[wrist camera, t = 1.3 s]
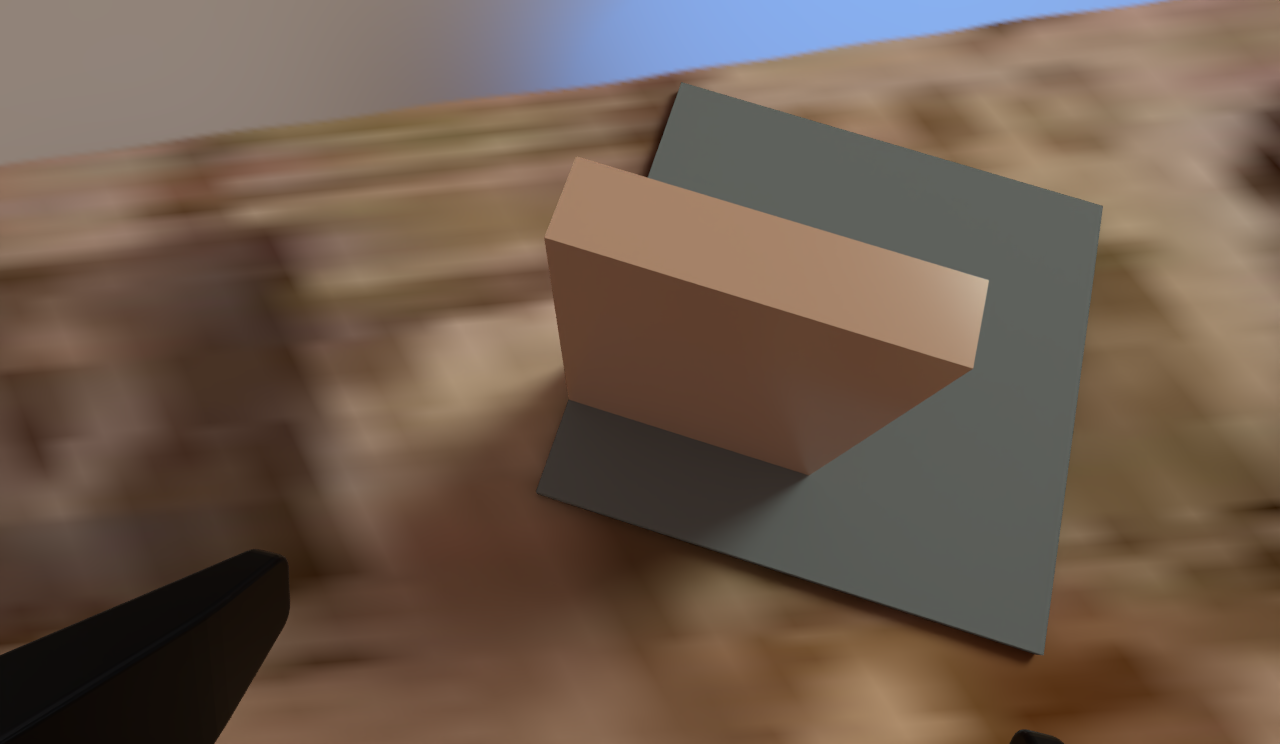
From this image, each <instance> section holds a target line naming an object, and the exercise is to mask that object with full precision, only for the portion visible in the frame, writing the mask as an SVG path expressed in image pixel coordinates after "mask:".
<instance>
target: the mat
mask: <svg viewBox="0 0 1280 744" xmlns="http://www.w3.org/2000/svg"><path fill="white" fill-rule="evenodd" d="M648 178H650V179H653V180H657V181H660V182H663V183H667V184H670V185H673V186H677V187H680V188H683V189H687V190H690V191H693V192H697V193H700V194H703V195H707V196H710V197H713V198H717V199H720V200H723V201H727V202H730V203H733V204H737V205H740V206H743V207H747V208H750V209H753V210H757V211H760V212H763V213H767V214H770V215H773V216H777V217H780V218H783V219H787V220H790V221H793V222H797V223H800V224H803V225H807V226H810V227H813V228H817V229H820V230H823V231H827V232H830V233H833V234H837V235H840V236H843V237H847V238H850V239H853V240H857V241H860V242H863V243H867V244H870V245H873V246H877V247H880V248H883V249H887V250H890V251H893V252H897V253H900V254H903V255H907V256H910V257H913V258H917V259H920V260H923V261H927V262H930V263H933V264H937V265H940V266H943V267H947V268H950V269H953V270H957V271H960V272H963V273H967V274H970V275H973V276H977V277H980V278H983V279H987V280H989V283H988V289H987V295H986V300H985V306H984V311H983V317H982V322H981V328H980V333H979V339H978V344H977V350H976V356H975V361H974V367H973V369H972V370H970V371H969V372H967V373H966V374H964V375H963V376H961V377H960V378H958V379H956V380H955V381H953V382H952V383H950V384H949V385H947V386H946V387H944V388H943V389H941V390H940V391H938V392H937V393H935V394H933V395H932V396H930V397H929V398H927V399H926V400H924V401H923V402H921V403H920V404H918V405H917V406H915V407H914V408H912V409H910V410H909V411H907V412H906V413H904V414H903V415H901V416H900V417H898V418H897V419H895V420H894V421H892V422H890V423H889V424H887V425H886V426H884V427H883V428H881V429H880V430H878V431H877V432H875V433H874V434H872V435H871V436H869V437H867V438H866V439H864V440H863V441H861V442H860V443H858V444H857V445H855V446H854V447H852V448H851V449H849V450H847V451H846V452H844V453H843V454H841V455H840V456H838V457H837V458H835V459H834V460H832V461H831V462H829V463H828V464H826V465H824V466H823V467H821V468H820V469H818V470H817V471H815V472H814V473H812V474H811V475H806V474H803V473H800V472H797V471H793V470H790V469H787V468H784V467H781V466H778V465H774V464H771V463H768V462H765V461H762V460H759V459H755V458H752V457H749V456H746V455H743V454H740V453H736V452H733V451H730V450H727V449H724V448H721V447H717V446H714V445H711V444H708V443H705V442H702V441H698V440H695V439H692V438H689V437H686V436H683V435H679V434H676V433H673V432H670V431H667V430H663V429H660V428H657V427H654V426H651V425H648V424H644V423H641V422H638V421H635V420H632V419H629V418H625V417H622V416H619V415H616V414H613V413H610V412H606V411H603V410H600V409H597V408H594V407H591V406H587V405H584V404H581V403H578V402H575V401H572V400H568V403H567V406H566V409H565V412H564V414H563V417H562V420H561V423H560V426H559V428H558V431H557V434H556V437H555V440H554V442H553V445H552V448H551V451H550V454H549V457H548V459H547V462H546V465H545V468H544V471H543V473H542V476H541V479H540V482H539V485H538V487H537V490H536V493H537V494H539V495H543V496H546V497H549V498H552V499H555V500H558V501H561V502H564V503H567V504H570V505H574V506H577V507H580V508H583V509H586V510H589V511H592V512H595V513H598V514H602V515H605V516H608V517H611V518H614V519H617V520H620V521H623V522H626V523H629V524H633V525H636V526H639V527H642V528H645V529H648V530H651V531H654V532H657V533H660V534H664V535H667V536H670V537H673V538H676V539H679V540H682V541H685V542H688V543H692V544H695V545H698V546H701V547H704V548H707V549H710V550H713V551H716V552H719V553H723V554H726V555H729V556H732V557H735V558H738V559H741V560H744V561H747V562H750V563H754V564H757V565H760V566H763V567H766V568H769V569H772V570H775V571H778V572H782V573H785V574H788V575H791V576H794V577H797V578H800V579H803V580H806V581H809V582H813V583H816V584H819V585H822V586H825V587H828V588H831V589H834V590H837V591H841V592H844V593H847V594H850V595H853V596H856V597H859V598H862V599H865V600H868V601H872V602H875V603H878V604H881V605H884V606H887V607H890V608H893V609H896V610H899V611H903V612H906V613H909V614H912V615H915V616H918V617H921V618H924V619H927V620H931V621H934V622H937V623H940V624H943V625H946V626H949V627H952V628H955V629H958V630H962V631H965V632H968V633H971V634H974V635H977V636H980V637H983V638H986V639H989V640H993V641H996V642H999V643H1002V644H1005V645H1008V646H1011V647H1014V648H1017V649H1021V650H1024V651H1027V652H1030V653H1033V654H1036V655H1044V648H1045V640H1046V633H1047V625H1048V617H1049V610H1050V602H1051V595H1052V587H1053V580H1054V572H1055V564H1056V557H1057V549H1058V542H1059V534H1060V527H1061V519H1062V511H1063V504H1064V496H1065V489H1066V481H1067V474H1068V466H1069V458H1070V451H1071V443H1072V436H1073V428H1074V421H1075V413H1076V405H1077V398H1078V390H1079V383H1080V375H1081V368H1082V360H1083V352H1084V345H1085V337H1086V330H1087V322H1088V315H1089V307H1090V299H1091V292H1092V284H1093V277H1094V269H1095V262H1096V254H1097V247H1098V239H1099V231H1100V224H1101V216H1102V209H1103V206H1101V205H1098V204H1094V203H1091V202H1087V201H1084V200H1081V199H1077V198H1074V197H1070V196H1067V195H1064V194H1060V193H1057V192H1053V191H1050V190H1047V189H1043V188H1040V187H1036V186H1033V185H1030V184H1026V183H1023V182H1019V181H1016V180H1013V179H1009V178H1006V177H1002V176H999V175H996V174H992V173H989V172H985V171H982V170H978V169H975V168H972V167H968V166H965V165H961V164H958V163H955V162H951V161H948V160H944V159H941V158H938V157H934V156H931V155H927V154H924V153H921V152H917V151H914V150H910V149H907V148H904V147H900V146H897V145H893V144H890V143H887V142H883V141H880V140H876V139H873V138H870V137H866V136H863V135H859V134H856V133H853V132H849V131H846V130H842V129H839V128H835V127H832V126H829V125H825V124H822V123H818V122H815V121H812V120H808V119H805V118H801V117H798V116H795V115H791V114H788V113H784V112H781V111H778V110H774V109H771V108H767V107H764V106H761V105H757V104H754V103H750V102H747V101H744V100H740V99H737V98H733V97H730V96H727V95H723V94H720V93H716V92H713V91H709V90H706V89H703V88H699V87H696V86H692V85H689V84H686V83H681V85H680V88H679V91H678V94H677V97H676V99H675V102H674V105H673V108H672V111H671V113H670V116H669V119H668V122H667V125H666V128H665V130H664V133H663V136H662V139H661V142H660V144H659V147H658V150H657V153H656V156H655V158H654V161H653V164H652V167H651V170H650V173H649V175H648Z"/></svg>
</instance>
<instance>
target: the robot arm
mask: <svg viewBox="0 0 1280 744" xmlns="http://www.w3.org/2000/svg"><path fill="white" fill-rule="evenodd" d="M289 610H290V590H289V566H288V561H287V559H286V558H285V557H284V556H282V555H280V554H276V553H272V552H268V551H264V550H259V549H253V550H249V551H246V552H244V553H241V554H239V555H237V556H234V557H232V558H229V559H227V560H225V561H222V562H220V563H218V564H215V565H213V566H211V567H208V568H206V569H203V570H201V571H199V572H196V573H194V574H192V575H189V576H187V577H184V578H182V579H180V580H177V581H175V582H173V583H170V584H168V585H166V586H163V587H161V588H158V589H156V590H154V591H151V592H149V593H147V594H144V595H142V596H139V597H137V598H135V599H132V600H130V601H128V602H125V603H123V604H120V605H118V606H116V607H113V608H111V609H109V610H106V611H104V612H102V613H99V614H97V615H94V616H92V617H90V618H87V619H85V620H83V621H80V622H78V623H75V624H73V625H71V626H68V627H66V628H64V629H61V630H59V631H57V632H54V633H52V634H49V635H47V636H45V637H42V638H40V639H38V640H35V641H33V642H30V643H28V644H26V645H23V646H21V647H19V648H16V649H14V650H12V651H9V652H7V653H4V654H2V655H0V744H214V743H215V742H216V740H217V739H218V737H219V736H220V734H221V732H222V731H223V729H224V728H225V726H226V724H227V723H228V721H229V720H230V718H231V716H232V714H233V713H234V711H235V709H236V708H237V706H238V704H239V702H240V701H241V699H242V697H243V696H244V694H245V692H246V691H247V689H248V687H249V685H250V684H251V682H252V680H253V679H254V677H255V675H256V673H257V672H258V670H259V668H260V667H261V665H262V663H263V661H264V660H265V658H266V656H267V655H268V653H269V651H270V650H271V648H272V646H273V644H274V643H275V641H276V639H277V638H278V636H279V634H280V632H281V631H282V629H283V627H284V625H285V623H286V621H287V618H288V615H289ZM1010 744H1064V743H1063V742H1062V741H1061V740H1059V739H1058V738H1056V737H1054V736H1051V735H1047V734H1043V733H1039V732H1035V731H1030V730H1019V731H1018V732H1017V733H1015V735H1014V736H1013V738H1012V740H1011V742H1010Z"/></svg>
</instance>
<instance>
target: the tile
mask: <svg viewBox="0 0 1280 744" xmlns="http://www.w3.org/2000/svg"><path fill="white" fill-rule="evenodd" d="M544 239H545V245H546V252H547V259H548V265H549V272H550V278H551V285H552V292H553V298H554V305H555V312H556V318H557V325H558V332H559V338H560V345H561V351H562V358H563V365H564V371H565V378H566V385H567V391H568V398H569V400H572V401H575V402H578V403H581V404H584V405H587V406H591V407H594V408H597V409H600V410H603V411H606V412H610V413H613V414H616V415H619V416H622V417H625V418H629V419H632V420H635V421H638V422H641V423H644V424H648V425H651V426H654V427H657V428H660V429H663V430H667V431H670V432H673V433H676V434H679V435H683V436H686V437H689V438H692V439H695V440H698V441H702V442H705V443H708V444H711V445H714V446H717V447H721V448H724V449H727V450H730V451H733V452H736V453H740V454H743V455H746V456H749V457H752V458H755V459H759V460H762V461H765V462H768V463H771V464H774V465H778V466H781V467H784V468H787V469H790V470H793V471H797V472H800V473H803V474H806V475H811V474H812V473H814V472H815V471H817V470H818V469H820V468H821V467H823V466H824V465H826V464H828V463H829V462H831V461H832V460H834V459H835V458H837V457H838V456H840V455H841V454H843V453H844V452H846V451H847V450H849V449H851V448H852V447H854V446H855V445H857V444H858V443H860V442H861V441H863V440H864V439H866V438H867V437H869V436H871V435H872V434H874V433H875V432H877V431H878V430H880V429H881V428H883V427H884V426H886V425H887V424H889V423H890V422H892V421H894V420H895V419H897V418H898V417H900V416H901V415H903V414H904V413H906V412H907V411H909V410H910V409H912V408H914V407H915V406H917V405H918V404H920V403H921V402H923V401H924V400H926V399H927V398H929V397H930V396H932V395H933V394H935V393H937V392H938V391H940V390H941V389H943V388H944V387H946V386H947V385H949V384H950V383H952V382H953V381H955V380H956V379H958V378H960V377H961V376H963V375H964V374H966V373H967V372H969V371H970V370H972V369H973V367H974V361H975V356H976V350H977V344H978V339H979V333H980V328H981V322H982V317H983V311H984V306H985V300H986V295H987V289H988V283H989V280H987V279H983V278H980V277H977V276H973V275H970V274H967V273H963V272H960V271H957V270H953V269H950V268H947V267H943V266H940V265H937V264H933V263H930V262H927V261H923V260H920V259H917V258H913V257H910V256H907V255H903V254H900V253H897V252H893V251H890V250H887V249H883V248H880V247H877V246H873V245H870V244H867V243H863V242H860V241H857V240H853V239H850V238H847V237H843V236H840V235H837V234H833V233H830V232H827V231H823V230H820V229H817V228H813V227H810V226H807V225H803V224H800V223H797V222H793V221H790V220H787V219H783V218H780V217H777V216H773V215H770V214H767V213H763V212H760V211H757V210H753V209H750V208H747V207H743V206H740V205H737V204H733V203H730V202H727V201H723V200H720V199H717V198H713V197H710V196H707V195H703V194H700V193H697V192H693V191H690V190H687V189H683V188H680V187H677V186H673V185H670V184H667V183H663V182H660V181H657V180H653V179H650V178H647V177H643V176H640V175H637V174H633V173H630V172H627V171H623V170H620V169H617V168H613V167H610V166H607V165H603V164H600V163H597V162H594V161H590V160H587V159H584V158H580V157H577V156H576V158H575V161H574V164H573V166H572V169H571V171H570V174H569V176H568V179H567V181H566V184H565V186H564V189H563V191H562V194H561V196H560V199H559V202H558V204H557V207H556V209H555V212H554V214H553V217H552V219H551V222H550V224H549V227H548V229H547V232H546V235H545V237H544Z"/></svg>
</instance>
